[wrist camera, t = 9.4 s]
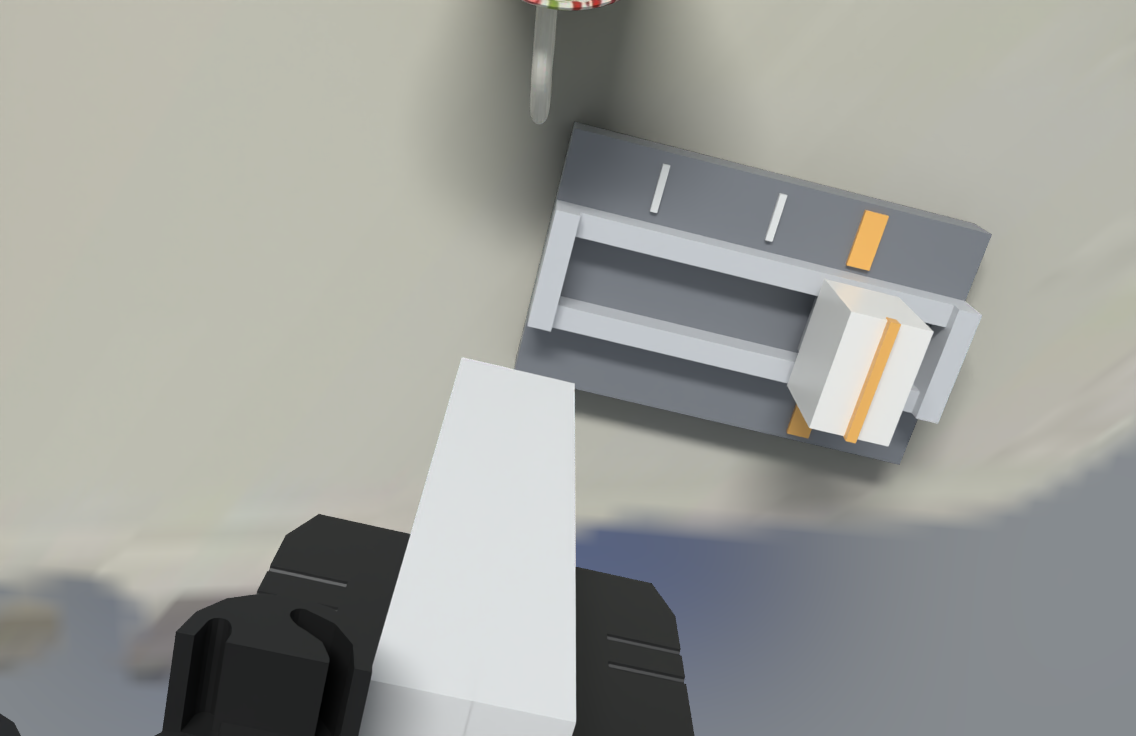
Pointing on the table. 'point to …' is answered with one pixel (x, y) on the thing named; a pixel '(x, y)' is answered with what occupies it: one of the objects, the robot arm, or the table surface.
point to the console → (730, 284)
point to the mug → (549, 50)
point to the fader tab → (857, 362)
